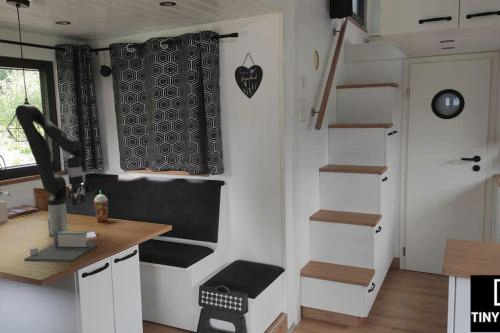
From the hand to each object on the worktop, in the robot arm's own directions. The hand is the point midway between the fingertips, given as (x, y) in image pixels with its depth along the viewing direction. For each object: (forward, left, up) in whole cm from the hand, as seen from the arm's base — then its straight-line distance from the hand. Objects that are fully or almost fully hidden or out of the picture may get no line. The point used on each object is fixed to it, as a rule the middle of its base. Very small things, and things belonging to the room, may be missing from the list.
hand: (79, 203), depth 243 cm
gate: (+11, -27, -16) cm, 34 cm away
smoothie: (-2, +29, -18) cm, 34 cm away
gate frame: (+9, -34, -17) cm, 39 cm away
